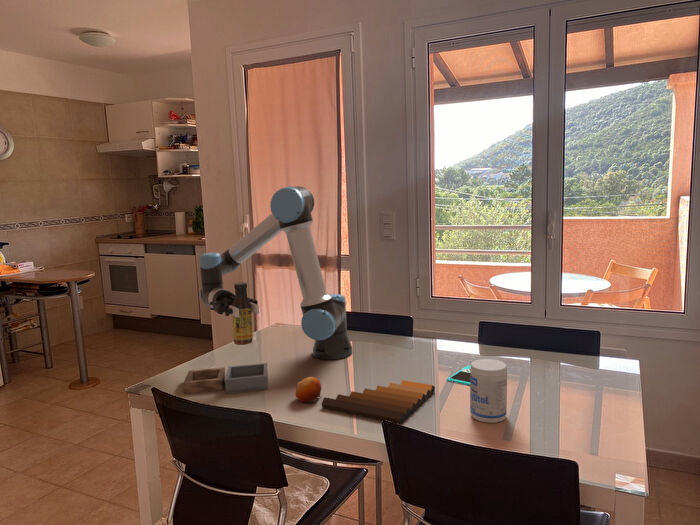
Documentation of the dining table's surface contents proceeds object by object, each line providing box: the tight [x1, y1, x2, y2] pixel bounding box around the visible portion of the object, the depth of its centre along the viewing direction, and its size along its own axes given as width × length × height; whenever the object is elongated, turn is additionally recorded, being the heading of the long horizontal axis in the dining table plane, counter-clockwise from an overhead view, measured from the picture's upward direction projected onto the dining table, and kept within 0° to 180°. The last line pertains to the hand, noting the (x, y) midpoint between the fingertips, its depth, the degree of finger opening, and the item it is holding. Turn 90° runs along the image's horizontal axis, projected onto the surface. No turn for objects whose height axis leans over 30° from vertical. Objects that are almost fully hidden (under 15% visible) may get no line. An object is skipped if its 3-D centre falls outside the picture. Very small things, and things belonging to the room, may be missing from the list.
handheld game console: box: [446, 365, 471, 387], centre depth 173 cm, size 10×16×1 cm, turn 142°
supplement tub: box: [469, 358, 508, 424], centre depth 142 cm, size 10×10×15 cm
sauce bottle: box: [231, 281, 254, 346], centre depth 172 cm, size 7×6×20 cm
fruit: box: [295, 376, 322, 404], centre depth 160 cm, size 8×8×8 cm
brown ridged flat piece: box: [321, 379, 436, 425], centre depth 157 cm, size 25×3×25 cm
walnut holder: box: [182, 366, 226, 395], centre depth 176 cm, size 12×12×4 cm
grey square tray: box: [224, 362, 269, 394], centre depth 175 cm, size 13×13×4 cm
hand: (247, 311), depth 168 cm, fingers closed on sauce bottle, 6 cm apart
